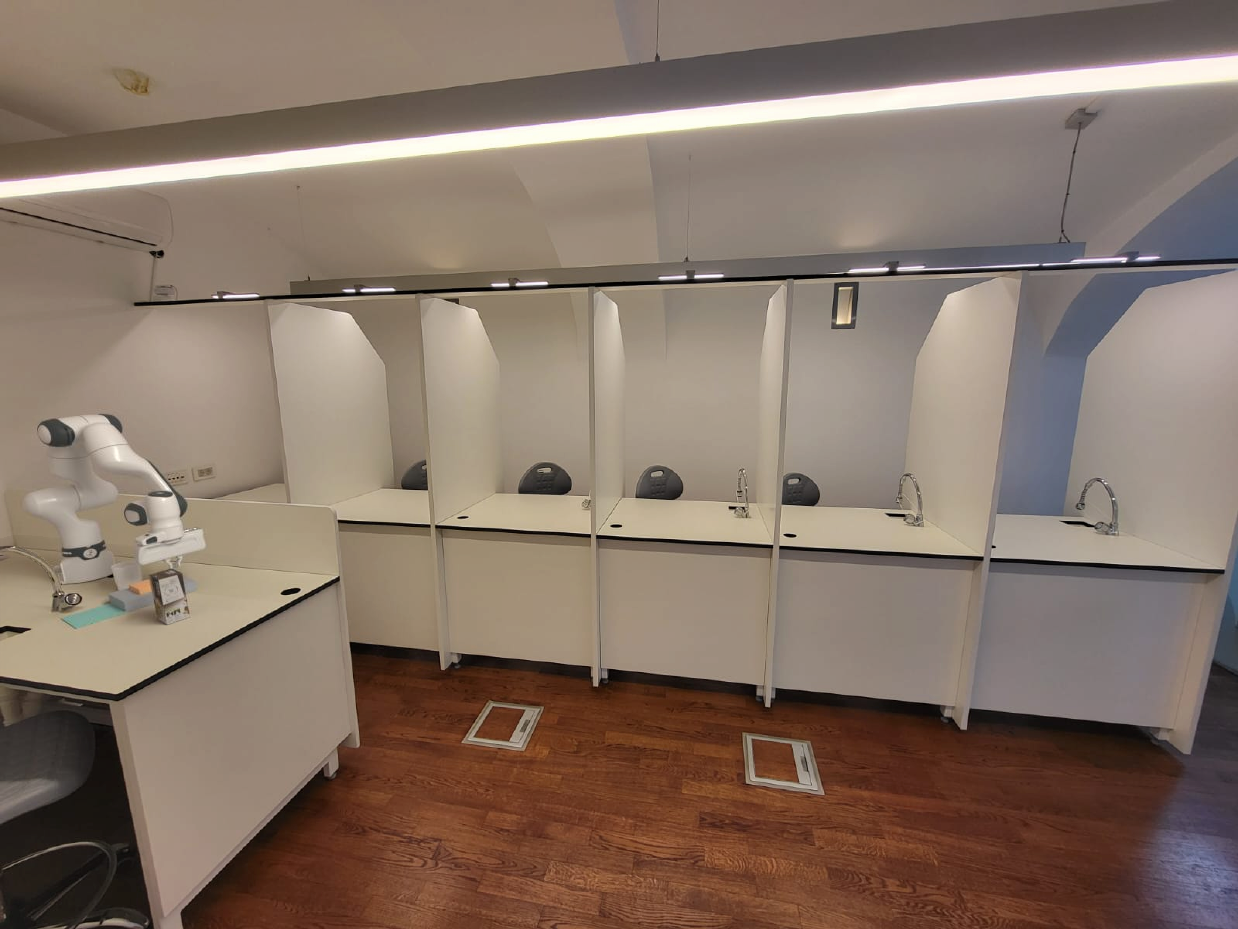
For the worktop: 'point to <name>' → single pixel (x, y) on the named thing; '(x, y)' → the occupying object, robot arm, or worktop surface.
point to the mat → (93, 615)
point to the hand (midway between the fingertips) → (174, 567)
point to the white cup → (126, 574)
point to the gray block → (141, 597)
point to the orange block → (141, 587)
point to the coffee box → (169, 596)
